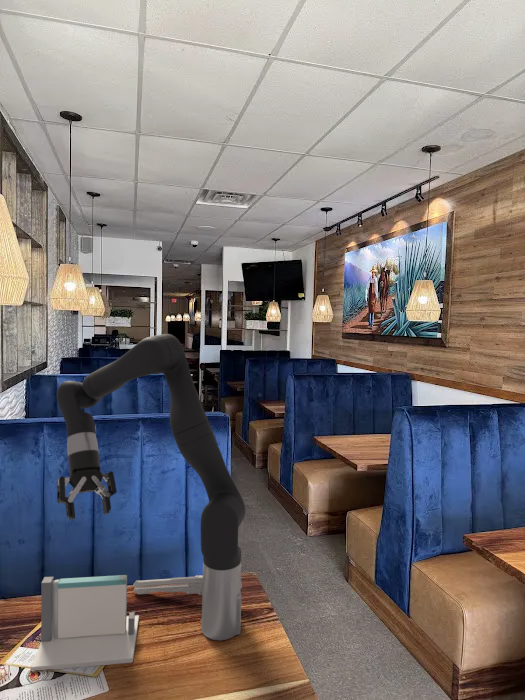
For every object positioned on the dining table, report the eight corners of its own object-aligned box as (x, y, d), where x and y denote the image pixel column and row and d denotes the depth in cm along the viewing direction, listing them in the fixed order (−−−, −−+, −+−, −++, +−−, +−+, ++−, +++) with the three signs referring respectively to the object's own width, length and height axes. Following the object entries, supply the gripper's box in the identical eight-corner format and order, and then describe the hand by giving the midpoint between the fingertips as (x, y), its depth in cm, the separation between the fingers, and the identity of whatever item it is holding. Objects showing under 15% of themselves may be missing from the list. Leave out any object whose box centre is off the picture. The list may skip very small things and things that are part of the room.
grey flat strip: (243, 603, 124) (238, 575, 123) (136, 609, 128) (131, 582, 128) (244, 599, 126) (240, 571, 125) (138, 605, 130) (134, 578, 130)
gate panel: (126, 627, 112) (126, 574, 112) (125, 633, 110) (126, 579, 110) (54, 633, 110) (54, 579, 109) (52, 639, 108) (52, 583, 107)
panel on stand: (138, 619, 118) (139, 561, 117) (132, 662, 103) (133, 596, 102) (50, 625, 114) (50, 566, 113) (30, 671, 100) (30, 603, 99)
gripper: (59, 450, 116) (65, 518, 110) (115, 446, 125) (123, 508, 119) (50, 459, 121) (55, 524, 115) (104, 455, 130) (111, 515, 124)
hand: (89, 516), depth 117 cm, fingers open, 8 cm apart
